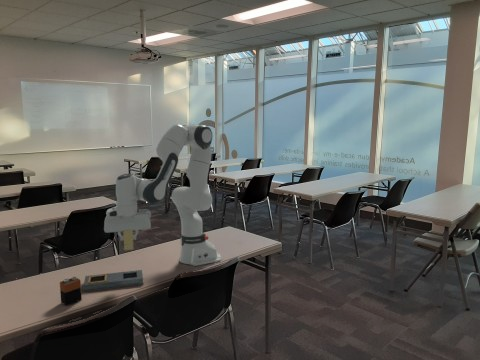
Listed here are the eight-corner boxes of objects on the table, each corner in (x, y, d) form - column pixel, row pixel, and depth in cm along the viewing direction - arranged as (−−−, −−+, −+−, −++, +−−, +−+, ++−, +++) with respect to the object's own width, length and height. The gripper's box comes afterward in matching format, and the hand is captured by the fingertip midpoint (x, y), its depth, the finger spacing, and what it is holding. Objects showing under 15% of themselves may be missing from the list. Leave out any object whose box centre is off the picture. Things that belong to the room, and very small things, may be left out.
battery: (60, 302, 152) (59, 279, 150) (76, 296, 157) (75, 274, 155) (65, 306, 149) (64, 282, 147) (82, 300, 154) (80, 277, 153)
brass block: (133, 246, 172) (132, 227, 171) (133, 249, 168) (132, 230, 167) (124, 247, 171) (123, 228, 169) (124, 250, 167) (123, 230, 166)
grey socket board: (142, 275, 178) (141, 269, 178) (143, 284, 169) (142, 277, 169) (85, 282, 171) (85, 275, 170) (83, 291, 162) (83, 284, 161)
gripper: (150, 207, 173) (151, 235, 175) (103, 210, 167) (105, 239, 169) (151, 210, 167) (152, 239, 169) (102, 213, 161) (104, 244, 163)
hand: (128, 239), depth 169 cm, fingers closed on brass block, 4 cm apart
